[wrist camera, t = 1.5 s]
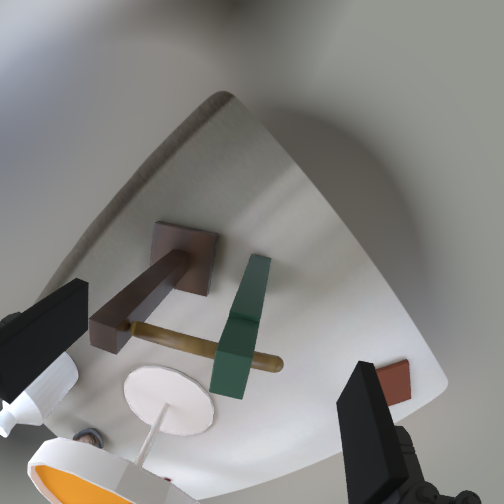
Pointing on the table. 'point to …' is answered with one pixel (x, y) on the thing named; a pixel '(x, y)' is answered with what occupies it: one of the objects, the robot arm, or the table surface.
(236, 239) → the table surface
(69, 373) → the bottle
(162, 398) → the white stemmed bowl
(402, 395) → the cork pad
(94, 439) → the bison figurine
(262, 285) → the green block with loop
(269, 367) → the hook stand
